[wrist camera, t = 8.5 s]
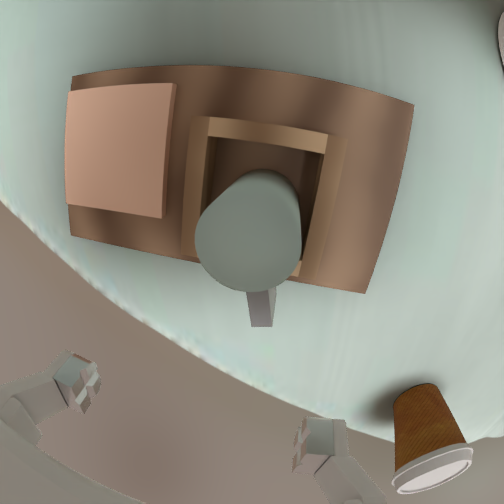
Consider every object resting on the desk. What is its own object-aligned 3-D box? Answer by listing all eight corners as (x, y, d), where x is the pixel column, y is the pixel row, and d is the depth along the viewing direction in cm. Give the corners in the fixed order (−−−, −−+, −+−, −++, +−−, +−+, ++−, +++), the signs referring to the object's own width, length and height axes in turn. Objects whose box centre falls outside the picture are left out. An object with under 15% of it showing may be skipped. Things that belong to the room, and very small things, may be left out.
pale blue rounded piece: (303, 272, 22) (305, 336, 15) (239, 275, 23) (216, 337, 16) (295, 165, 19) (297, 187, 12) (223, 172, 20) (185, 198, 13)
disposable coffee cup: (462, 376, 26) (491, 451, 15) (421, 420, 30) (437, 489, 19) (407, 371, 26) (432, 463, 15) (367, 418, 30) (375, 498, 19)
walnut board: (409, 105, 16) (429, 103, 13) (362, 287, 23) (371, 311, 20) (79, 77, 18) (53, 74, 15) (76, 231, 25) (54, 245, 21)
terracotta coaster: (177, 84, 17) (172, 82, 17) (165, 215, 21) (161, 218, 21) (74, 91, 18) (68, 91, 17) (71, 201, 22) (66, 203, 21)
